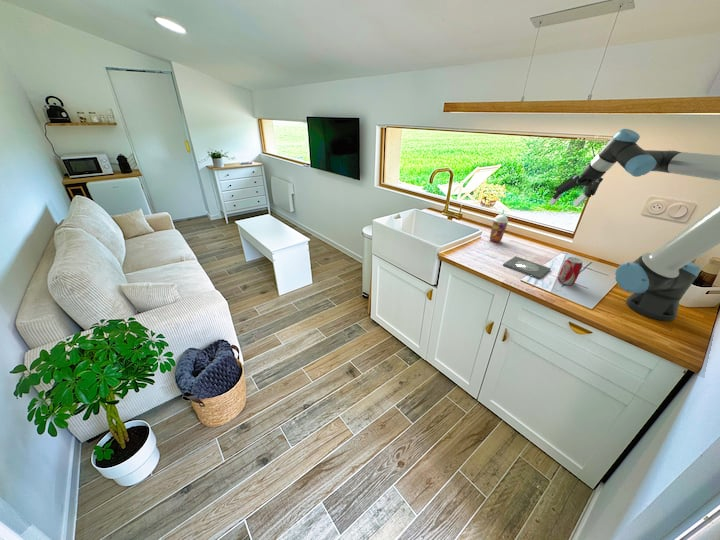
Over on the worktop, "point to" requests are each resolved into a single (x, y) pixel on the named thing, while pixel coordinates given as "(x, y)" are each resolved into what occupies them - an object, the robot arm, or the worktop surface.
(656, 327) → the worktop surface
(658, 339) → the worktop surface
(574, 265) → the soda can
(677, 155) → the robot arm
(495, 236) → the smoothie
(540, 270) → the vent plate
